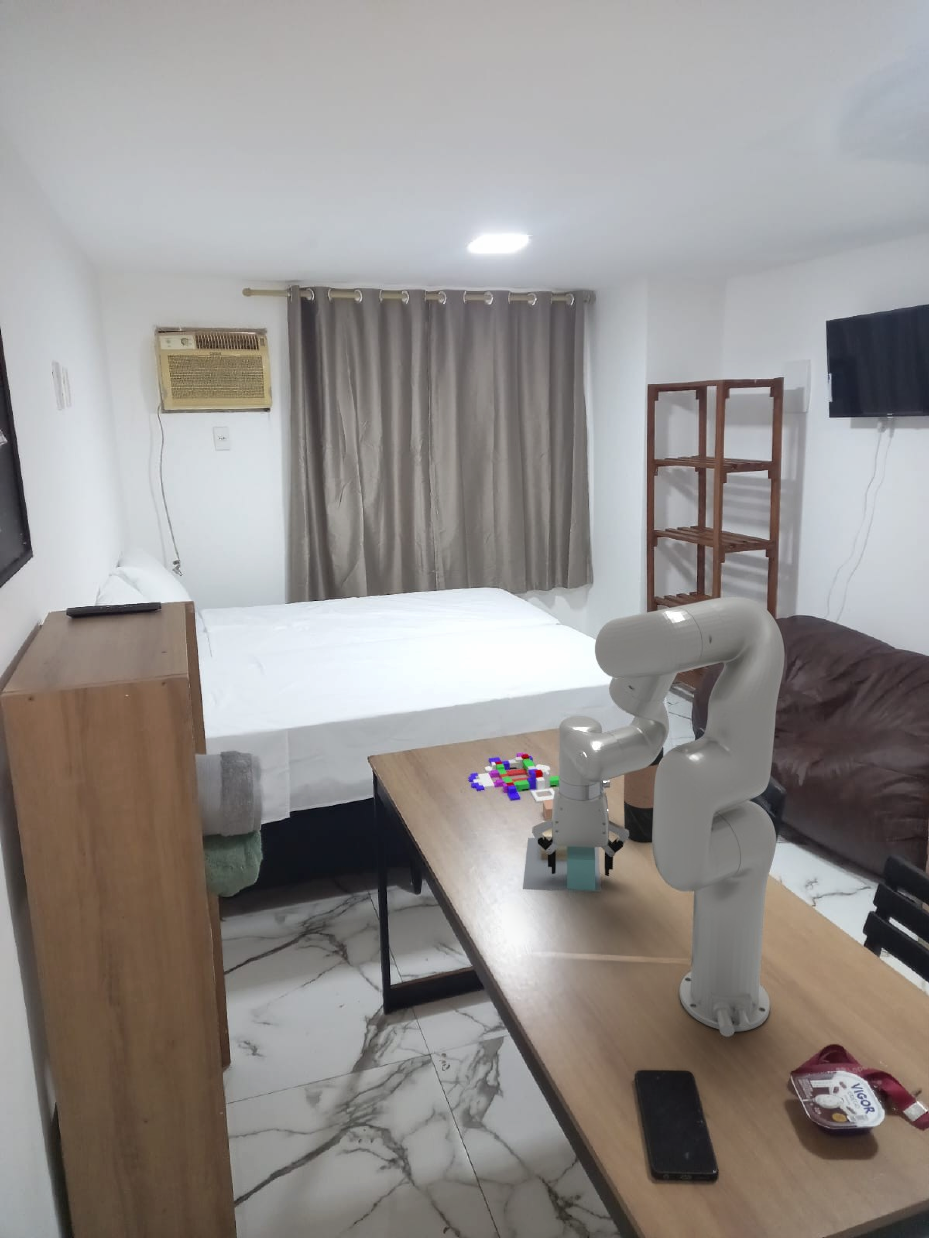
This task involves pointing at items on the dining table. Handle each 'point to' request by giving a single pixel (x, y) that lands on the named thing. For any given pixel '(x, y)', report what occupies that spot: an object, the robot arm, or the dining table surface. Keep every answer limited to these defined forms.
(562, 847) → the beech block
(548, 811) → the terracotta block
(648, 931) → the dining table surface
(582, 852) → the teal block
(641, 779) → the travel mug
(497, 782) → the building block set
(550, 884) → the build board
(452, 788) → the dining table surface
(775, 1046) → the dining table surface
